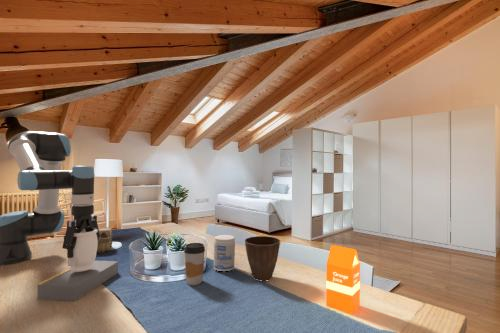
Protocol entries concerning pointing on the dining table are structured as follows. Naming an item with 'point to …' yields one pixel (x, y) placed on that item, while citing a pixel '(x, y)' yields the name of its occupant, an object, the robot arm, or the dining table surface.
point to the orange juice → (343, 279)
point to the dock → (76, 282)
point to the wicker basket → (104, 240)
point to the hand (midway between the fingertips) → (82, 260)
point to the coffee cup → (194, 263)
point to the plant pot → (262, 256)
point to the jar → (85, 250)
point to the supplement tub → (224, 252)
